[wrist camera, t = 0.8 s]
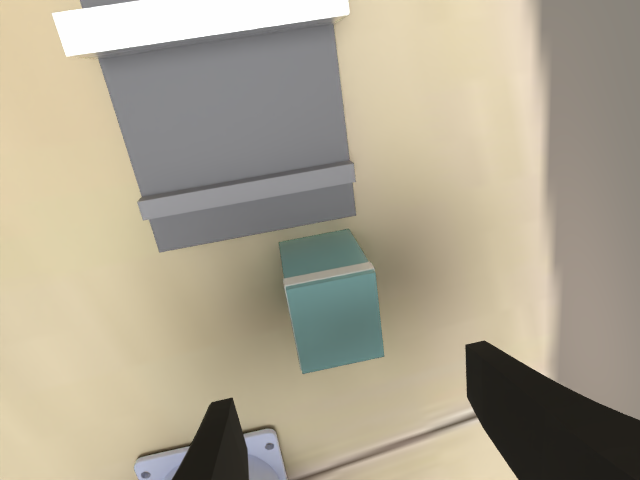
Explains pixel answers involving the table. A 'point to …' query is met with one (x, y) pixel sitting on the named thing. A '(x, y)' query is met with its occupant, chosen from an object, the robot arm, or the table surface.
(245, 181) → the grey stand with lip
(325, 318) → the block
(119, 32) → the rail
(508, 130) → the table surface
